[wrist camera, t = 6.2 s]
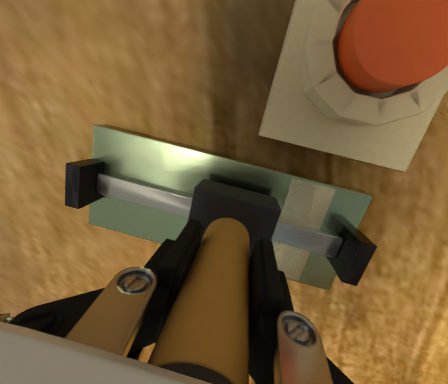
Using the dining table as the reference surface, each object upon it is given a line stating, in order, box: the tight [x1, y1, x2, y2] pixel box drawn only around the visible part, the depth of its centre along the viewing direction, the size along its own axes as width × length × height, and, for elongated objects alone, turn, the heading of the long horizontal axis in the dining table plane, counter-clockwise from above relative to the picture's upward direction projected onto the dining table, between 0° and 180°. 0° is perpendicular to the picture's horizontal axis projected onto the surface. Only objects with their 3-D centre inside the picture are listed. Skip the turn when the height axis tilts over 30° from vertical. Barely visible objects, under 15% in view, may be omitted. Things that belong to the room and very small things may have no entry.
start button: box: [337, 0, 448, 93], centre depth 9 cm, size 4×4×2 cm
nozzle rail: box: [65, 124, 377, 290], centre depth 15 cm, size 8×20×4 cm, turn 76°
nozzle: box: [147, 179, 281, 384], centre depth 10 cm, size 9×5×12 cm, turn 166°
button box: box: [258, 0, 448, 172], centre depth 12 cm, size 11×9×4 cm
